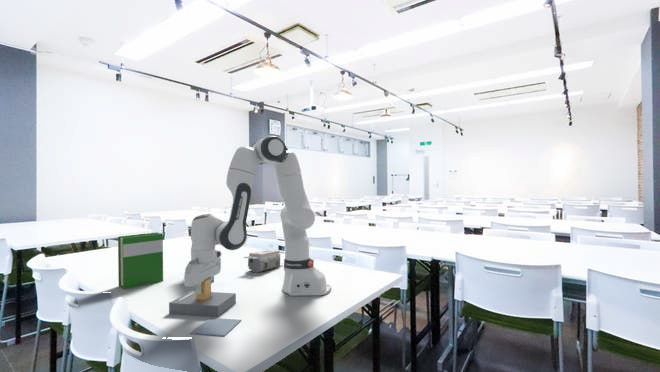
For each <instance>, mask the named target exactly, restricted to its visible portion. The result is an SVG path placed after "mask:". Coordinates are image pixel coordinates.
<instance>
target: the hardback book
mask: <svg viewBox="0 0 660 372" xmlns="http://www.w3.org/2000/svg"><path fill="white" fill-rule="evenodd" d="M163 235H164V234H163V233H161V232H149V233H142V234H141V233H140V234H139V233H138V234H132V235H131V234H129V235H123V236H117V252H118V255H117V257H118V258H117V259H118V260H117V263H118V264H117V265H118V268H117V269H118V270H117V271H118V287H119V288H121V287H122V290H129V289H133V288H137V287H143V286H146V285H151V284H156V283H159V282H160V283H161V282H163V281H164V243H163V242H164V240H163V237H164V236H163Z"/></svg>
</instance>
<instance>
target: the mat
mask: <svg viewBox="0 0 660 372" xmlns="http://www.w3.org/2000/svg"><path fill="white" fill-rule="evenodd" d="M241 322H242V319H235V318H232V319H231V318H219V317H208V318H207V319H206V320H205V321H203V322H202V323H201V324H199V325H198V326H196V328H194V329H193V330H191V331H190V332H189V334H191V335H200V336H201V335H203V336H213V337H216V336H217V337H226V335H228V334H229V333H230V332H231V331H232V330H233V329H234V328H235V327H236V326H238V325H239V324H240V323H241Z"/></svg>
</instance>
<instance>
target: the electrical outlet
mask: <svg viewBox="0 0 660 372" xmlns="http://www.w3.org/2000/svg"><path fill="white" fill-rule="evenodd" d="M284 253H285V251H280V250H277V249H264V250H263V249H262V250H258V251H257V250H256V251H253V252H249V254H248V255H249V256H243V259H247V268H248V270H250V271H252V272H253V273H261V272H263V271H267V270H270V269H273V268H274V269H275V268H278V267H280V266H281V254H284Z"/></svg>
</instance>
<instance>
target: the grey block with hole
mask: <svg viewBox="0 0 660 372" xmlns="http://www.w3.org/2000/svg"><path fill="white" fill-rule="evenodd" d="M236 303H237V295H236V293H234V292H233V293H232V292H220V291H219V292H218V291H211V297H210V298H209V299H207V300H196V290H190V291H189V292H186V293H184V294H182V295H181V296H180V297H177V298H175V299H174V300H172V301H170V302H168V314H169V315H171V314H172V315H186V316H187V315H188V316H200V317H211V318H219V317H220V316H221V315H223V314H224V313H225V312H226V311H228V310H230V308H232V307H233V306H235V304H236Z"/></svg>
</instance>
